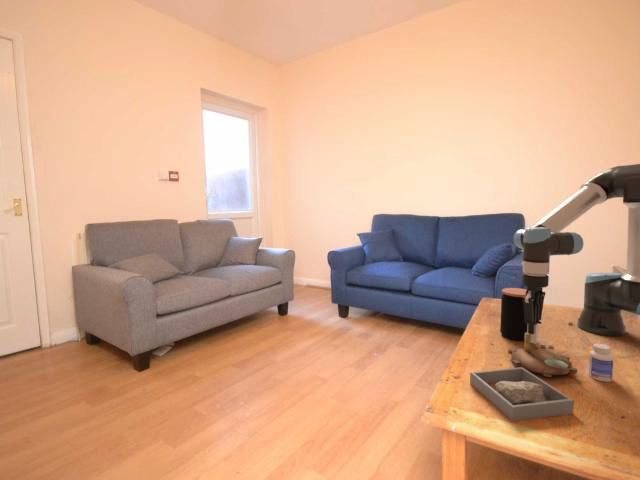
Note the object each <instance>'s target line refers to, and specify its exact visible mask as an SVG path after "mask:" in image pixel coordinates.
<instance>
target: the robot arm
mask: <svg viewBox="0 0 640 480" xmlns="http://www.w3.org/2000/svg"><path fill="white" fill-rule="evenodd" d="M615 198H622V204H624V205H625V206H626V207H627V208H628V212H627V214H628V215H627V247H626V248H627V249H626V251H627V252H626V272H625V273H624V274H623V273H619V272H591V273H588V274H586V276H585V279H584V280H585V281H584V295H583V309H582V311H581V313H580V315H579V317H578V319H577V322H576V323H577V327H578V328H579V329H581V330H583V331H586V332H590V333H593V334H597V335H602V336H612V337H613V336H614V337H618V336H624V335H626V329H627V327H626V325H625V322H624V320H623V316H622V311H624V312H628V313H632V314H636V315H638V316H640V163H636V164H627V165H618V166H617V165H616V166H614V167H610V168H608V169H606V170H604V171H601V172H600V173H598V174H595V175H594V176H593V177H591V178H590V179H588V180H587V181H585V182H584V183H583V184H582V185H581V186H580V187H579V190H578V191H577V192H575V193H574V194H573V195H572V196H570V197H569V198H568V199H566V200H565V201H564V202H562V203H561V204H560V205H558V206H557V207H556V208H555V209H553V210H552V211H551V212H549V213H548V214H547V215H545V216H544V217H542V218H541V219H540V220H539V221H537V222H536V223H535V224H533V225H532V226H530V227H527V228H522V229H518V230H516V232H515V233H514V234H513V243H514V245H515V246H516V247H517V248H519V249H522V251H523V252H522V262H521V263H520V264H521V266H522V274H521V284H522V285H523V286H526V290H527V291H526V297H523V298H522V299H523V303H524V319H525V321H524V322H525V323H528V326H527V333H530V334H531V344H534V345H536V344H538V335H539V334H538V333H539V325H542V315H543V307H544V301H545V297H546V294H547V293H546V291H543V288H547V287H549V280H550V277H549V275H550V258H551V256H570V255H576V254H578V253H580V252H581V251H582V250H583V248H584V238H583V237H582V235H580V234H579V233H577V232H574V231H573V232H570V231H566V232H564V231H563V230H565V229H566V228H567V227H568V226H570V225H571V224H572V223H574V222H575V221H576V220H578V219H579V218H580V217H581V216H583V215H584V214H586V213H588V211H590V210H591V209H592V208H593V207H595V206H596V205H602V204H604V202H606V201H607V200H610V199H615ZM562 231H563V232H562Z"/></svg>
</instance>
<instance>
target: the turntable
mask: <svg viewBox="0 0 640 480" xmlns="http://www.w3.org/2000/svg"><path fill="white" fill-rule="evenodd" d="M523 342H524V343H523V344H524V345H523V348H518V349H513V348H510V349H508V350H507V353H508V355H510V356H511V365H513V366H514V367H523V368H524V369H528V370H530V371H534V372H537V373H542V374H543V375H542V376H543V377H547V378H548V377H550V378H552V377H553V376H552V375H555V376H562V375H568V374H572V375H576V374H578V368H575V367H574V366H573V364H572V362H571V361H570V357H569V356H568V355H565V354H564V355H560V354H558V353H555V352H553V351H552V352H551V351H548V350H544V349H539V348H538V347H536V346H531V345H532V343H531V334H530V333H525V341H523ZM528 370H527V371H528ZM530 371H529V372H530Z"/></svg>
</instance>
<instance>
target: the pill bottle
mask: <svg viewBox="0 0 640 480" xmlns="http://www.w3.org/2000/svg"><path fill="white" fill-rule="evenodd" d="M592 345H593V346H592V350H591V351H590V352H589V366H588V367H589V368H588V370H589V371H588V374H589V377H591V378H592V379H594V380H596V381H600V382H603V383H604V382H606V383H609V382H612V381H613V377H614V376H613V374H614V355H612V354H611V350H612V347H611V346H609V345H608V344H604V343H593V344H592Z"/></svg>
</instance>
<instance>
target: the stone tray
mask: <svg viewBox="0 0 640 480" xmlns="http://www.w3.org/2000/svg"><path fill="white" fill-rule="evenodd" d="M469 376H470V379H469V384H470V385H471V386H472V387H474V389H475V390H477V391H478V392H479V394H481V395H483V396H484V398H486V399H487V400H488V401H489V402H490V403H491V404H492V405H493V406H495V407H496V408H497V409H498V410H499V411H500V412H501V413H502V414H503V415H505V416H506V418H508V419H509V420H510V421H511V422H515V421H524V420H525V421H526V420H533V419H541V418H548V417H550V418H551V417H555V416H556V417H559V416H565V415H573V414H574V403H575V402H574V401H575V400H574V399H572V398H571V397H569V396H568V395H567V394H565V393H563V392H562V391H560V390H559V389H557V388H555V387H554V386H552V384H549V383H548V382H546V381H545V380H543V379H541V378H540V377H538V376H536V375H535V373H534V374H533V372H530V371H528V370H526V369H525V368H523V367H521V366H517V367H509V368H499V369H489V370H479V371H470V375H469ZM501 381H510V382H517V381H526V382H532V383H536V384H539V385H541V386H542V388H543V393H544V395H545V397H546V398H545V399H548V400H546V401H545V402H537V403H518V404H511V403H510V402H509V401H508V400H506V399H505V398H504V397H503V396H502V395H500V394H499V393H498V391H497V390H496V389H495V388H493V387H492V386H491V385H489V384H494V383H495V384H496V383H498V382H501Z"/></svg>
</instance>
